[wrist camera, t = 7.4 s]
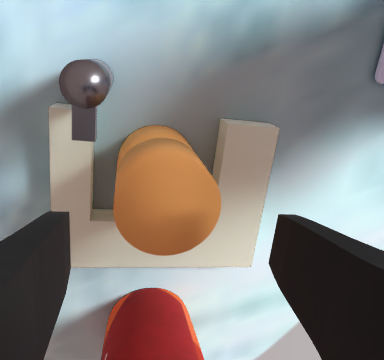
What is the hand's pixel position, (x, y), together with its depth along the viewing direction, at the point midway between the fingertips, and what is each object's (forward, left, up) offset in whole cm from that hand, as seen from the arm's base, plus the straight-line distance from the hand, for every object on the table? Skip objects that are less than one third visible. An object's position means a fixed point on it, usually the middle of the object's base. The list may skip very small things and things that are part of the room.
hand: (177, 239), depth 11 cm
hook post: (+4, -4, -9) cm, 10 cm away
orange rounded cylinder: (0, 0, -9) cm, 9 cm away
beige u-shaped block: (0, +2, -9) cm, 9 cm away
